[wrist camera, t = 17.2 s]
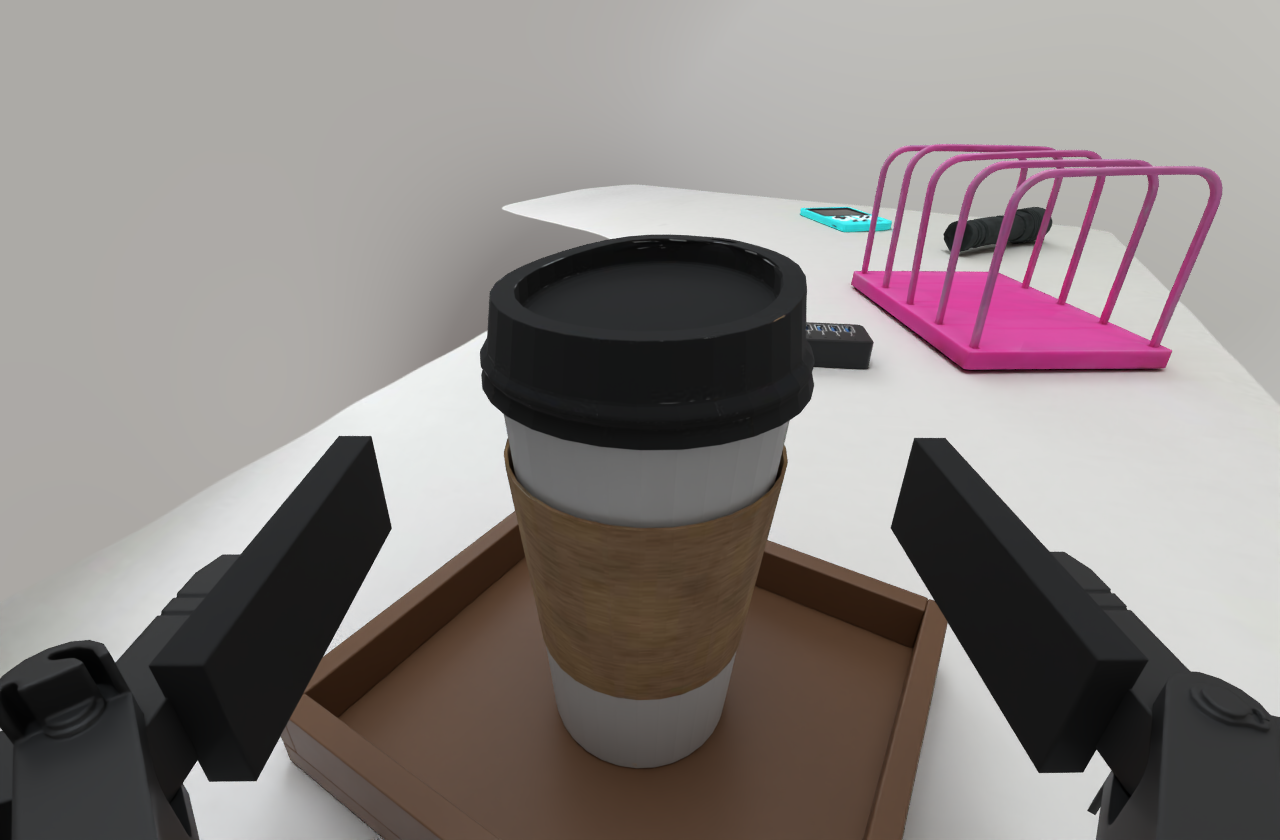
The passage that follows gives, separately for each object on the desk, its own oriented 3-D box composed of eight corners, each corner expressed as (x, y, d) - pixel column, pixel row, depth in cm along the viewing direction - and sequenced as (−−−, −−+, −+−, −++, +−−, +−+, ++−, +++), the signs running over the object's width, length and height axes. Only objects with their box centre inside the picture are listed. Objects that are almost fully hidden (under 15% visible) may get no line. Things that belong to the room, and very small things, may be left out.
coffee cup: (799, 668, 23) (881, 260, 16) (674, 876, 17) (713, 362, 9) (619, 573, 27) (618, 219, 20) (467, 710, 21) (388, 272, 14)
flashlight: (1047, 242, 95) (1058, 209, 92) (969, 258, 85) (979, 221, 82) (1015, 237, 98) (1025, 204, 96) (936, 251, 88) (945, 215, 86)
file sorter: (963, 373, 49) (1023, 163, 42) (849, 286, 71) (875, 138, 64) (1166, 370, 51) (1260, 165, 43) (992, 286, 73) (1035, 140, 65)
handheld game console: (841, 232, 100) (843, 223, 99) (797, 214, 113) (798, 206, 113) (896, 230, 102) (898, 221, 101) (847, 213, 115) (848, 205, 115)
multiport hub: (869, 369, 50) (874, 342, 49) (733, 362, 51) (736, 336, 50) (857, 349, 54) (862, 324, 53) (731, 343, 55) (734, 318, 54)
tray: (289, 760, 20) (264, 700, 19) (572, 516, 32) (570, 468, 31) (812, 1199, 12) (837, 1152, 11) (931, 661, 24) (951, 605, 23)
